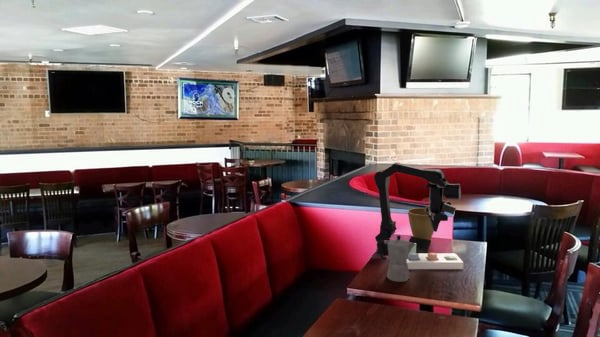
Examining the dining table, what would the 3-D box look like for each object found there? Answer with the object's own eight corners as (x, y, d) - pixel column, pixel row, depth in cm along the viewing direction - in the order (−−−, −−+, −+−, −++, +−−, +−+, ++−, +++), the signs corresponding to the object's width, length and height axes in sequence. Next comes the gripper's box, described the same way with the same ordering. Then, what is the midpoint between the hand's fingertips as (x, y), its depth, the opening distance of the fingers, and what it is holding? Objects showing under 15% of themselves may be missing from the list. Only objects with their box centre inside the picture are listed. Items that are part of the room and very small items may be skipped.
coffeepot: (415, 275, 194) (415, 233, 191) (414, 283, 185) (415, 239, 182) (377, 272, 198) (377, 231, 195) (375, 280, 189) (375, 237, 186)
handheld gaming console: (400, 249, 223) (407, 230, 226) (403, 254, 229) (410, 236, 232) (423, 256, 217) (430, 237, 220) (425, 261, 223) (432, 242, 226)
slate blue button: (410, 263, 203) (410, 255, 203) (408, 260, 207) (408, 252, 207) (419, 263, 203) (419, 255, 203) (417, 260, 207) (417, 252, 206)
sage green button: (447, 266, 203) (447, 258, 202) (444, 263, 207) (444, 255, 206) (456, 266, 202) (456, 258, 202) (453, 263, 206) (454, 255, 206)
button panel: (406, 269, 201) (406, 251, 199) (402, 259, 212) (402, 242, 211) (463, 269, 199) (463, 251, 198) (455, 259, 211) (455, 242, 210)
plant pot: (402, 238, 245) (403, 208, 243) (429, 236, 248) (429, 207, 246) (414, 246, 231) (415, 215, 228) (442, 244, 233) (443, 213, 231)
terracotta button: (428, 263, 203) (428, 255, 202) (426, 260, 207) (426, 252, 206) (437, 263, 203) (438, 255, 202) (435, 260, 207) (435, 252, 206)
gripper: (460, 202, 199) (459, 237, 201) (448, 193, 217) (447, 225, 220) (434, 202, 200) (433, 237, 202) (424, 193, 218) (424, 226, 220)
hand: (435, 231), depth 211 cm, fingers closed
